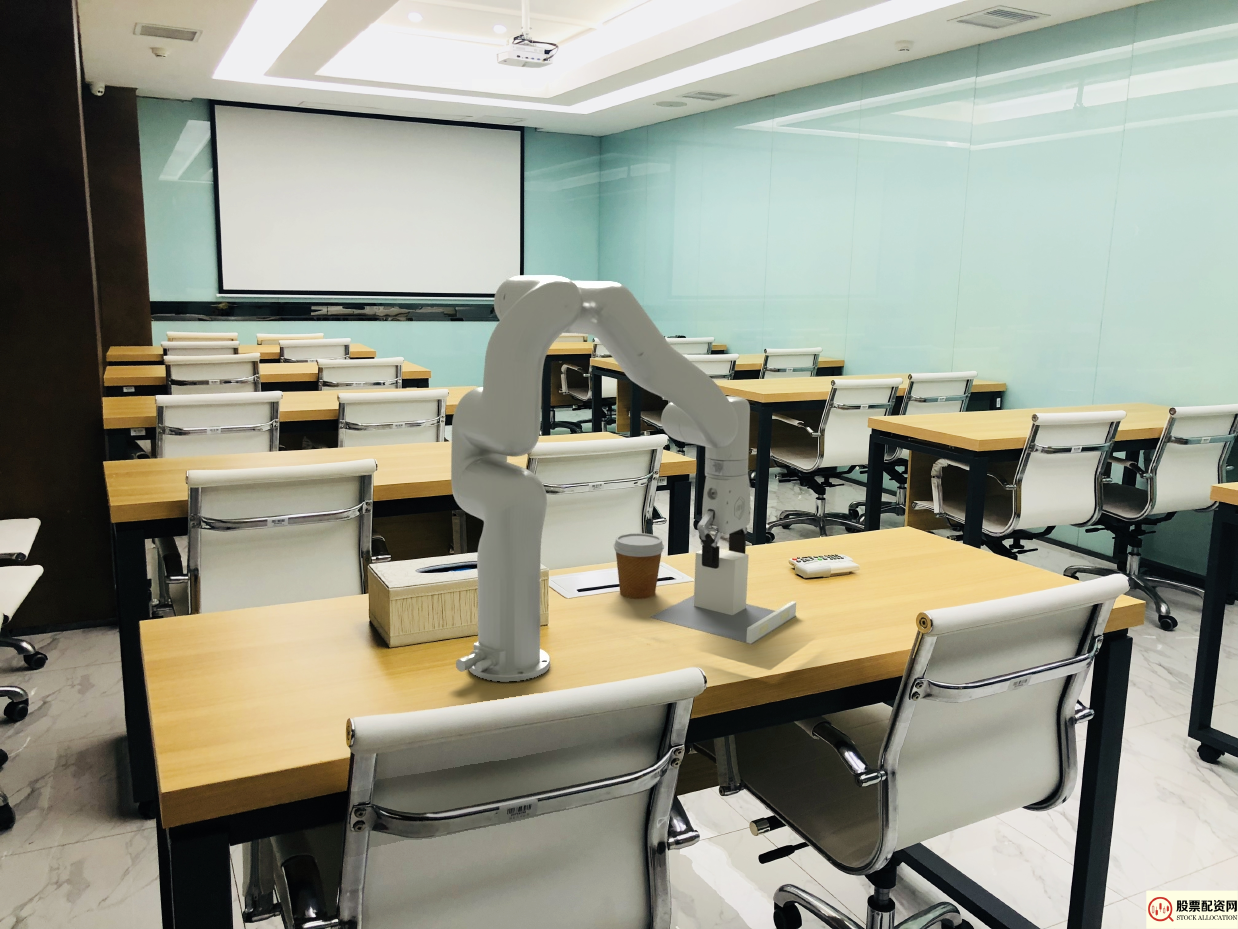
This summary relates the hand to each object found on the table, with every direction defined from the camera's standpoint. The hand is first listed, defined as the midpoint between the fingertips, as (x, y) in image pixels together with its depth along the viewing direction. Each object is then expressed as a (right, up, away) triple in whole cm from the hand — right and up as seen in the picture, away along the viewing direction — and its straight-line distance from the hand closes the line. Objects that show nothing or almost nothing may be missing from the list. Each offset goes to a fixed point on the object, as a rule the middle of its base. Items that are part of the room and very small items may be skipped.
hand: (723, 560), depth 167 cm
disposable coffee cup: (-15, -9, +8) cm, 19 cm away
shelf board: (0, -11, -3) cm, 11 cm away
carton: (-1, -9, +1) cm, 9 cm away
